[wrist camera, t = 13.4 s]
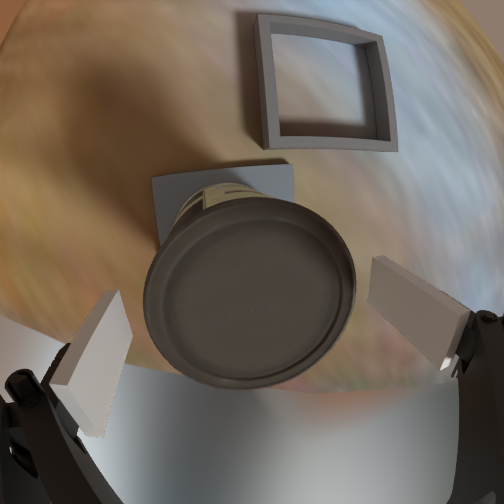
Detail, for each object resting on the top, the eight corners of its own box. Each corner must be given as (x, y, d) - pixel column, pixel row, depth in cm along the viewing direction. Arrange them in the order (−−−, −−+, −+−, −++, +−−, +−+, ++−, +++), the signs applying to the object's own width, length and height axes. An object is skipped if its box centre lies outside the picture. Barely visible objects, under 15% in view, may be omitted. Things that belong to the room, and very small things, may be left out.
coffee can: (201, 303, 27) (206, 412, 14) (154, 210, 23) (100, 260, 10) (295, 263, 27) (369, 342, 14) (259, 165, 24) (327, 161, 11)
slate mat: (152, 177, 23) (151, 177, 22) (289, 164, 25) (292, 164, 24) (172, 304, 27) (172, 307, 26) (294, 288, 29) (296, 291, 28)
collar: (253, 25, 20) (257, 13, 18) (370, 42, 22) (382, 36, 20) (263, 149, 24) (269, 147, 22) (384, 151, 26) (398, 151, 24)
